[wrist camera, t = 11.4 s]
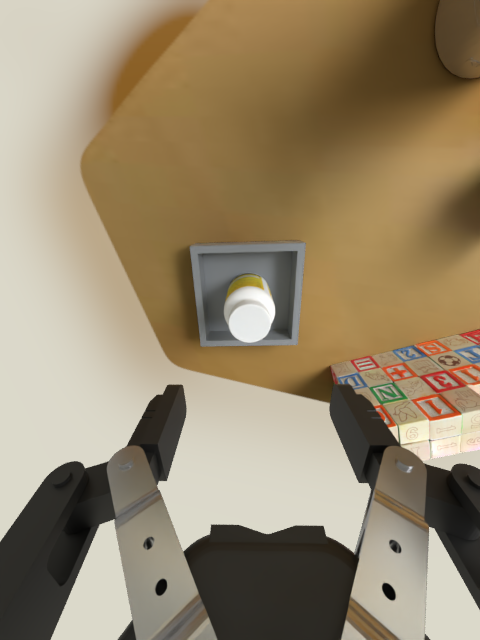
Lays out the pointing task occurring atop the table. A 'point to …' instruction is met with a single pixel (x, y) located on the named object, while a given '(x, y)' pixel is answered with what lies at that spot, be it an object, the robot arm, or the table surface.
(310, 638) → the robot arm
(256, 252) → the box
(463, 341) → the stack of blocks
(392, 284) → the table surface
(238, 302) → the supplement bottle
